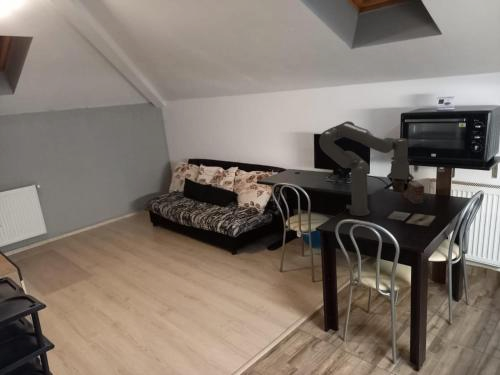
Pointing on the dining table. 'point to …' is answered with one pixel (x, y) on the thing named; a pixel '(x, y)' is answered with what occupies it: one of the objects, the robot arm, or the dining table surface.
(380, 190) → the dining table surface
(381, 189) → the dining table surface
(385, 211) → the dining table surface
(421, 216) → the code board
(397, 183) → the walnut block
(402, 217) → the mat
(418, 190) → the stack of blocks
